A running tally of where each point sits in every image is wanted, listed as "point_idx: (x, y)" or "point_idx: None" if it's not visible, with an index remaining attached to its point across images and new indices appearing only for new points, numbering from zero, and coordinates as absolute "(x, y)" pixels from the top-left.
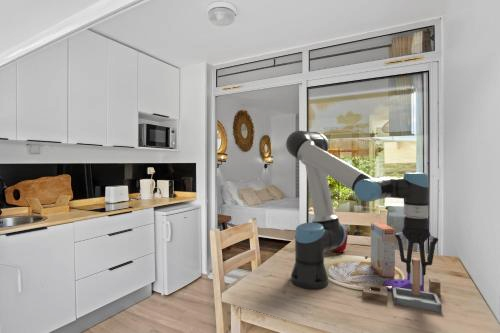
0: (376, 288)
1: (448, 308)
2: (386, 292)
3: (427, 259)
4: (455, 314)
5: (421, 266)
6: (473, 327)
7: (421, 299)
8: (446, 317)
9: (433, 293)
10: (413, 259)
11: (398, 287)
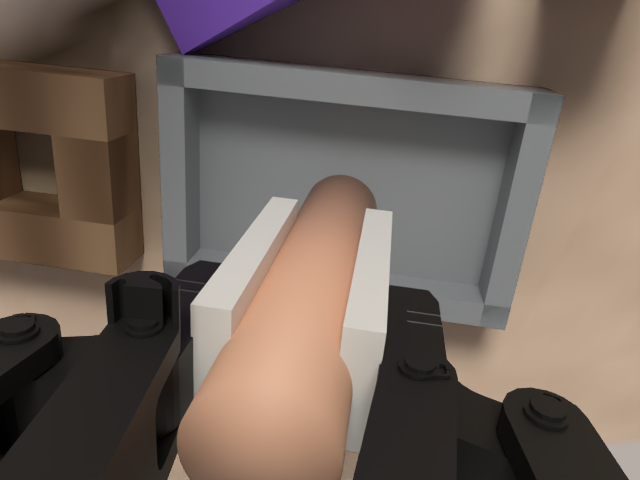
0: (27, 131)
1: (584, 221)
2: (106, 217)
3: (518, 468)
4: (590, 303)
5: (359, 447)
6: (618, 434)
7: (398, 167)
8: (499, 356)
9: (534, 104)
10: (210, 452)
11: (217, 23)
